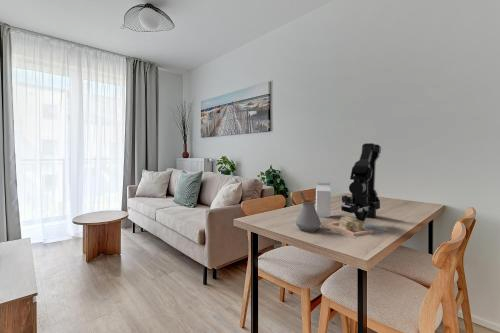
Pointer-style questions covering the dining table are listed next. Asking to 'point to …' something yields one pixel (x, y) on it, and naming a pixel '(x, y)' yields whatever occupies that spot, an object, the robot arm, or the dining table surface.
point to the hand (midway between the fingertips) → (360, 225)
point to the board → (368, 230)
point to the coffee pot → (308, 216)
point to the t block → (351, 224)
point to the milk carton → (323, 199)
